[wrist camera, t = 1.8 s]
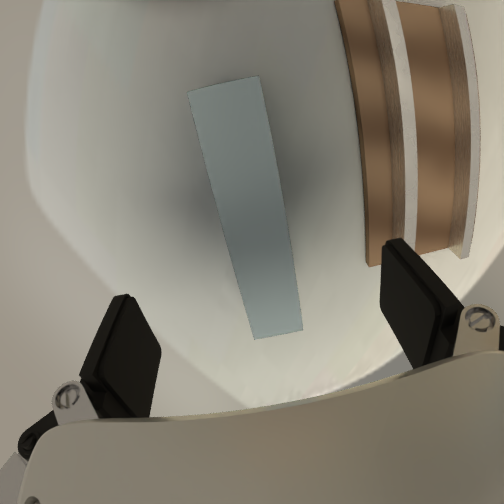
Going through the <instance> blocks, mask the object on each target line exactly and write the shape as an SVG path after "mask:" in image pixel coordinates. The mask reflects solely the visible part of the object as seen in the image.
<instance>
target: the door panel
mask: <svg viewBox="0 0 504 504" xmlns="http://www.w3.org/2000/svg"><path fill="white" fill-rule="evenodd" d="M187 95H188V99H189V103H190V107H191V111H192V115H193V119H194V123H195V126H196V130H197V134H198V138H199V142H200V146H201V150H202V154H203V157H204V161H205V165H206V169H207V173H208V176H209V180H210V184H211V188H212V191H213V195H214V199H215V203H216V206H217V210H218V214H219V217H220V221H221V225H222V228H223V232H224V236H225V239H226V243H227V246H228V250H229V254H230V257H231V261H232V264H233V268H234V271H235V275H236V278H237V282H238V285H239V289H240V292H241V296H242V299H243V303H244V306H245V310H246V313H247V316H248V320H249V323H250V327H251V330H252V333H253V337H254V340H256V339H261V338H267V337H272V336H277V335H282V334H287V333H292V332H297V331H302V330H303V324H302V316H301V309H300V302H299V295H298V288H297V281H296V274H295V268H294V261H293V255H292V249H291V242H290V236H289V230H288V224H287V218H286V212H285V206H284V201H283V195H282V189H281V184H280V178H279V173H278V167H277V162H276V157H275V151H274V146H273V141H272V136H271V131H270V126H269V121H268V116H267V111H266V106H265V101H264V96H263V92H262V87H261V82H260V78H259V76H254V77H249V78H243V79H238V80H234V81H229V82H224V83H220V84H216V85H211V86H207V87H203V88H199V89H196V90H192V91H188V92H187Z"/></svg>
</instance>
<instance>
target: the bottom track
mask: <svg viewBox="0 0 504 504" xmlns="http://www.w3.org/2000/svg"><path fill="white" fill-rule="evenodd" d="M334 2H335V6H336V10H337V14H338V18H339V22H340V27H341V31H342V35H343V40H344V45H345V50H346V55H347V60H348V65H349V71H350V76H351V82H352V88H353V95H354V102H355V109H356V116H357V124H358V132H359V141H360V151H361V162H362V174H363V188H364V206H365V234H366V263H367V265H368V266H369V267H372V266H377V265H381V253H382V246H383V245H385V243H386V241H387V240H391V239H395V238H402V239H403V240H404V241H405V242H406V243H407V244H408V245H409V246H410V247H411V248H412V249H413V250H414V251H415V252H416V253H417V254H418V255H421V254H425V253H429V252H433V251H437V250H441V249H445V248H449V249H450V250H451V251H452V252H453V253H454V254H455V255H456V256H457V257H458V258H459V259H463V258H467V257H469V252H470V247H471V241H472V237H473V230H474V223H475V216H476V207H477V198H478V187H479V172H480V106H479V92H478V81H477V72H476V64H475V57H474V51H473V45H472V39H471V34H470V29H469V24H468V20H467V15H466V13H465V9H464V7H463V6H459V5H455V4H452V5H448V6H443V7H439V8H437V7H432V6H426V5H420V4H413V3H405V2H397V1H395V0H335V1H334Z"/></svg>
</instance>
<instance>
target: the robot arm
mask: <svg viewBox="0 0 504 504" xmlns="http://www.w3.org/2000/svg"><path fill="white" fill-rule="evenodd" d="M380 308H381V311H382V313H383V314H384V316H385V318H386V320H387V321H388V323H389V325H390V327H391V329H392V330H393V332H394V334H395V336H396V338H397V339H398V341H399V343H400V345H401V347H402V348H403V350H404V352H405V354H406V356H407V358H408V360H409V362H410V363H411V365H412V367H413V370H410V371H407V372H404V373H401V374H398V375H394V376H391V377H388V378H384V379H381V380H378V381H374V382H371V383H368V384H364V385H360V386H357V387H354V388H349V389H345V390H341V391H337V392H333V393H329V394H325V395H321V396H316V397H311V398H307V399H302V400H297V401H292V402H287V403H281V404H276V405H270V406H264V407H258V408H251V409H244V410H236V411H228V412H220V413H212V414H211V413H210V414H201V415H188V416H172V417H149V415H150V410H151V404H152V398H153V394H154V389H155V383H156V378H157V373H158V368H159V364H160V359H161V347H160V345H159V343H158V341H157V339H156V337H155V336H154V334H153V332H152V330H151V328H150V326H149V324H148V323H147V321H146V319H145V317H144V315H143V313H142V311H141V309H140V307H139V305H138V303H137V301H136V299H135V298H134V297H131V296H130V295H129V294H124V295H118V296H114V297H113V299H112V301H111V303H110V305H109V308H108V309H107V312H106V314H105V316H104V318H103V320H102V322H101V325H100V327H99V329H98V331H97V333H96V336H95V338H94V340H93V343H92V345H91V347H90V349H89V352H88V354H87V356H86V359H85V361H84V364H83V366H82V369H81V371H80V374H79V376H80V377H81V381H80V382H77V381H69V382H66V383H64V384H62V385H61V386H60V387H59V388H58V389H57V390H56V391H55V393H54V395H53V398H52V407H53V411H51V412H50V413H49V414H47V415H46V416H44V417H43V418H42V419H40V420H39V421H38V422H36V423H35V424H34V425H32V426H31V427H30V428H28V429H27V430H26V431H25V432H24V433H23V434H22V435H21V437H20V439H19V441H18V452H19V453H18V454H17V453H16V452H14V453H13V455H12V456H11V457H10V458H9V460H8V461H7V462H6V463H5V465H4V466H3V467H2V468H1V470H0V504H504V326H500V321H499V318H498V315H497V313H496V312H495V311H494V310H493V309H491V308H490V307H488V306H485V305H482V304H472V305H469V306H467V307H464V306H463V305H462V304H461V303H460V301H459V300H458V299H457V298H456V296H455V295H454V294H453V293H452V292H451V291H450V289H449V288H448V287H447V286H446V285H445V284H444V283H443V281H442V280H441V279H440V278H439V277H438V276H437V275H436V274H435V273H434V271H433V270H432V269H431V268H430V267H429V266H428V265H427V264H426V263H425V262H424V261H423V259H422V258H421V257H420V256H419V255H418V254H417V253H416V252H415V251H414V250H413V249H412V248H411V247H410V246H409V245H408V244H407V243H406V242H405V241H404V240H403V239H402V238H395V239H391V240H387V241H386V243H385V245H383V246H382V253H381V286H380Z"/></svg>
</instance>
